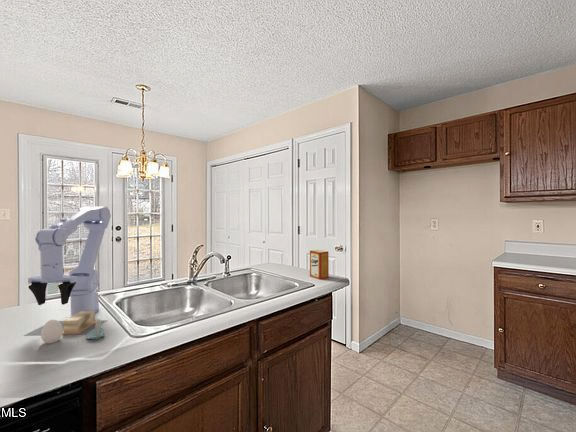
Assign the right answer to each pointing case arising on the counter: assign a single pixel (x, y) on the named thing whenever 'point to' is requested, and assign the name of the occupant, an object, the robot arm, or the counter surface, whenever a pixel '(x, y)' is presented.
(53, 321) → the egg
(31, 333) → the rubber mat
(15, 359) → the counter surface
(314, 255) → the baking soda box
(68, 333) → the terracotta strip
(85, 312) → the tan wooden block
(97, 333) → the pacifier
